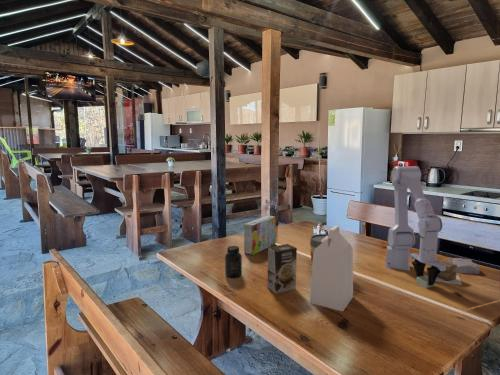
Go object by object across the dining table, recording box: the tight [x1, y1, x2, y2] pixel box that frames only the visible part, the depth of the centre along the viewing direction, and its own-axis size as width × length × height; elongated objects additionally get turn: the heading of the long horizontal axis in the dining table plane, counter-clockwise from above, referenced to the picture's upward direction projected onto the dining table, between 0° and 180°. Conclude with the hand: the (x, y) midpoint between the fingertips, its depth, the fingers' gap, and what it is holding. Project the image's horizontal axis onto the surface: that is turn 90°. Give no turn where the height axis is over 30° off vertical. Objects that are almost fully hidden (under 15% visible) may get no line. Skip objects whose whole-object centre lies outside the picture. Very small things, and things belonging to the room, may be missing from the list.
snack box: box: [243, 215, 277, 256], centre depth 176 cm, size 21×6×15 cm, turn 144°
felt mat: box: [435, 274, 463, 286], centre depth 139 cm, size 10×10×1 cm
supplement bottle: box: [224, 245, 243, 279], centre depth 143 cm, size 7×7×12 cm
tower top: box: [439, 260, 458, 274], centre depth 139 cm, size 5×5×3 cm
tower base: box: [437, 272, 458, 281], centre depth 139 cm, size 5×5×3 cm
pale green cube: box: [415, 275, 436, 289], centre depth 133 cm, size 4×4×3 cm
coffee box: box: [267, 243, 298, 294], centre depth 130 cm, size 9×6×16 cm
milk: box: [309, 225, 354, 312], centre depth 121 cm, size 12×12×26 cm
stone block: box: [447, 257, 480, 275], centre depth 149 cm, size 12×5×10 cm
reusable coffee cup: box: [309, 233, 329, 263], centre depth 145 cm, size 13×13×15 cm
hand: (425, 282), depth 133 cm, fingers closed on pale green cube, 4 cm apart
